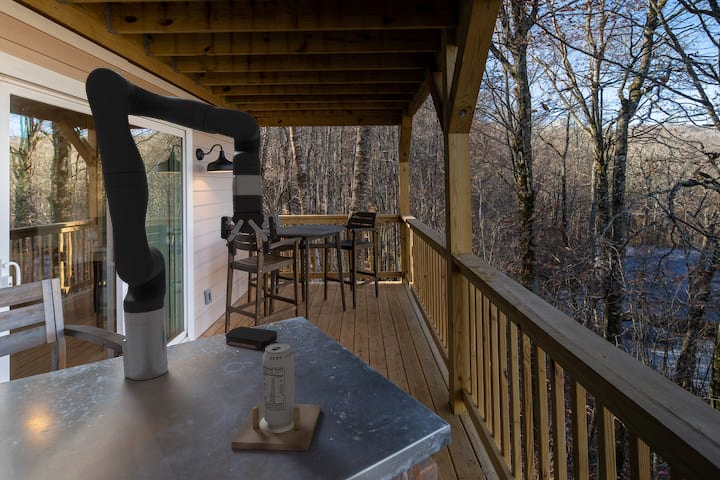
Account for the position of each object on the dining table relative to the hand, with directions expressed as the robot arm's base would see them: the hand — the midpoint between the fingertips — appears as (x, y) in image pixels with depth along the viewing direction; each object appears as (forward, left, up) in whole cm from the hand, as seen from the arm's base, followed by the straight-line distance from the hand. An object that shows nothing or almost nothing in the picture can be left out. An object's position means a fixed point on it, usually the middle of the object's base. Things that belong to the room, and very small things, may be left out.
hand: (249, 255), depth 106 cm
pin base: (+15, -29, -30) cm, 44 cm away
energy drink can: (+15, -29, -29) cm, 44 cm away
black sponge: (-7, +17, -31) cm, 36 cm away
